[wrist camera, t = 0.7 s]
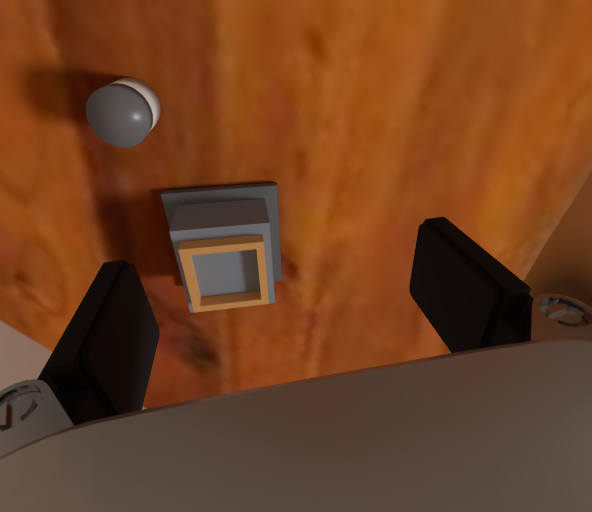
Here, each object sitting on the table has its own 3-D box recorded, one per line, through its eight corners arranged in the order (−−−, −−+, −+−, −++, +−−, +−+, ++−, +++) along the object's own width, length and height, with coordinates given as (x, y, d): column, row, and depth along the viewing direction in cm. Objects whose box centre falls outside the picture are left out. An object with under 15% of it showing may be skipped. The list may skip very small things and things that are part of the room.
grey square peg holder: (162, 190, 38) (146, 226, 31) (276, 182, 40) (285, 215, 33) (186, 286, 46) (178, 332, 39) (281, 276, 48) (289, 318, 41)
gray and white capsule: (100, 78, 31) (76, 88, 26) (154, 76, 32) (139, 85, 27) (116, 131, 34) (97, 149, 29) (165, 129, 35) (154, 145, 30)
